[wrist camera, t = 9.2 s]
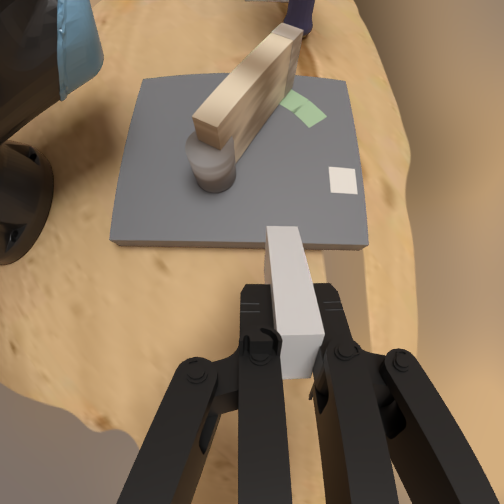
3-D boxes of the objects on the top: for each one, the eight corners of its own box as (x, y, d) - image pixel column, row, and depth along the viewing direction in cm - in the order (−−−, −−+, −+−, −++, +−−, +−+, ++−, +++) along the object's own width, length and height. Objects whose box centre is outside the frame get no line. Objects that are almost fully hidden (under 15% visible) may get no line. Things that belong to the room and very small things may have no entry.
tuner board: (119, 245, 27) (109, 240, 25) (148, 92, 31) (143, 79, 28) (358, 250, 27) (368, 244, 25) (340, 94, 31) (345, 81, 28)
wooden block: (222, 200, 25) (211, 153, 17) (187, 181, 25) (165, 131, 17) (299, 89, 28) (311, 33, 20) (268, 76, 28) (274, 19, 20)
